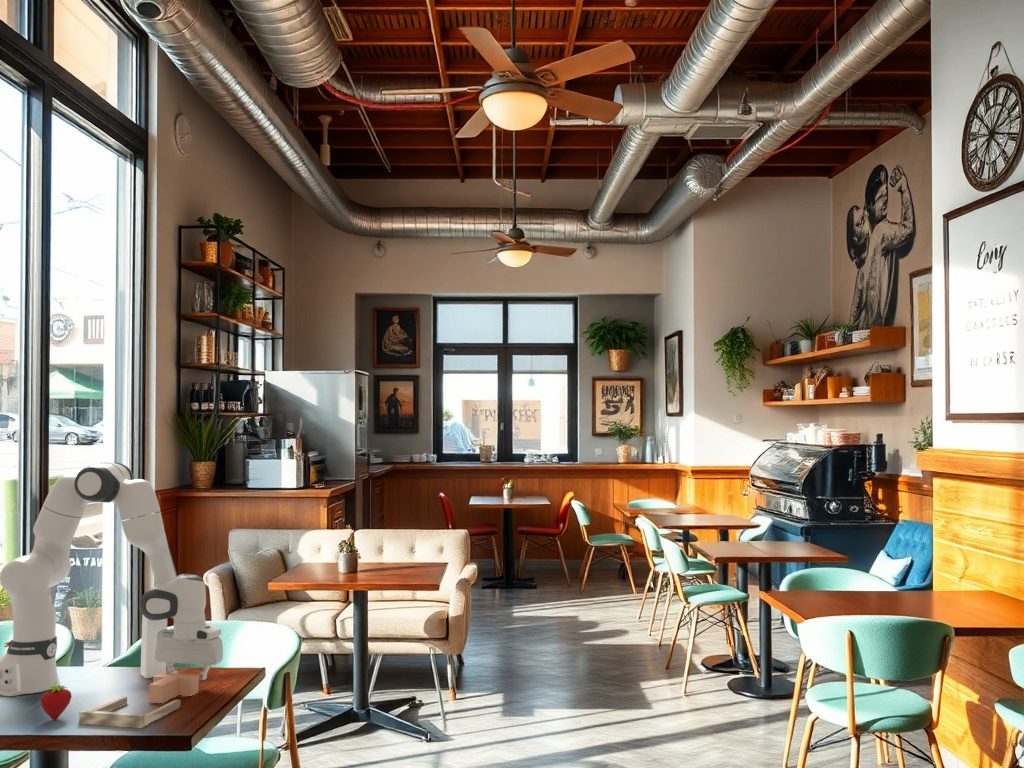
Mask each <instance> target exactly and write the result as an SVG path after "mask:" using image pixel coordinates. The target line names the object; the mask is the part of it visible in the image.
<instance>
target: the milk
mask: <svg viewBox="0 0 1024 768" xmlns="http://www.w3.org/2000/svg"><path fill="white" fill-rule="evenodd" d="M162 629H166V630H168V618H166V619H162V620H149V619H147V618H146V617H144V615H143V614H142V613H141V641H140V642H141V643H140V644H141V645H140V646H141V647H140V648H141V649H140V652H141V653H140V675H141V677H144V678H145V679H151V678H152V677H153V676H155V675H158V674H160V673H167V666H166V662H157V661H156V659H155V650H156V644H157V634H158V632H159V631H161V630H162ZM160 633H161V632H160ZM152 679H153V678H152Z"/></svg>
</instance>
